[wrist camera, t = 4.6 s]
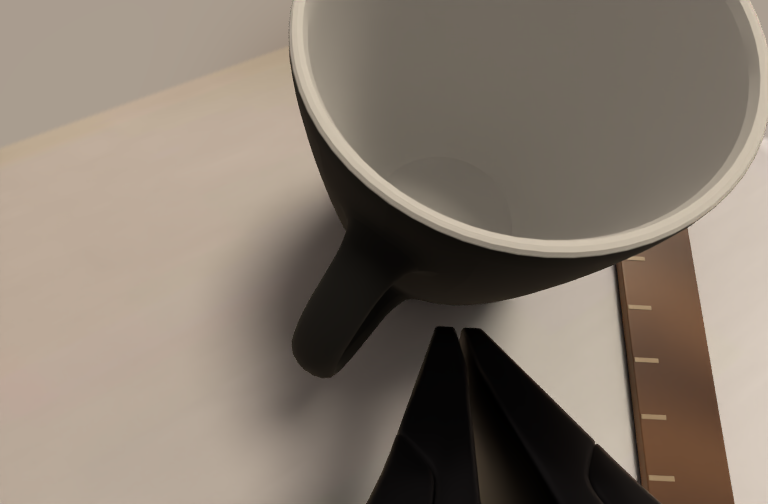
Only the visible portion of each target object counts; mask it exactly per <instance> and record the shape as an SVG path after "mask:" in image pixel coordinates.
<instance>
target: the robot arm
mask: <svg viewBox="0 0 768 504" xmlns="http://www.w3.org/2000/svg"><path fill="white" fill-rule="evenodd" d="M366 504H662V503H660V502H659V501H658V500H657V499H656V498H655V497H654V496H653V495H651V494H650V493H649V492H648V491H647V490H646V489H645V488H643V487H642V486H641V485H640V484H639V483H638V482H637V481H636V480H635V479H634V478H633V477H632V476H631V475H630V474H628V473H627V472H626V471H625V470H624V469H623V468H622V467H621V466H620V465H619V464H618V463H617V462H616V461H615V460H614V459H613V458H612V457H611V456H610V455H609V454H608V453H607V452H606V451H605V450H604V449H603V448H602V447H601V446H600V445H598V444H595V441H594V440H593V439H592V438H591V437H590V436H589V435H588V434H587V433H586V432H585V431H584V430H583V429H582V428H581V427H580V426H579V425H578V424H577V423H576V422H575V421H574V420H573V419H572V418H571V417H570V416H569V415H568V414H567V413H566V412H565V411H564V410H563V409H562V408H561V407H560V406H559V405H558V404H557V403H556V402H555V401H554V400H553V399H552V398H551V397H550V396H549V395H548V394H547V393H546V392H545V391H544V390H543V389H542V388H541V387H540V386H539V385H538V384H537V383H536V382H535V381H534V380H533V379H532V378H531V377H530V376H529V375H527V374H526V373H525V372H524V371H523V370H522V369H521V368H520V367H519V366H518V365H517V364H516V363H515V362H514V361H513V360H512V359H511V358H510V357H509V356H508V355H507V354H506V353H505V352H504V351H503V350H502V349H501V348H500V347H499V346H498V345H497V344H496V343H495V342H494V341H493V340H492V339H491V338H490V337H489V336H488V335H487V334H486V333H485V332H484V331H483V330H482V329H479V328H463V329H462V331H461V334H460V339H459V340H458V337H457V334H456V331H455V329H454V328H453V327H445V326H437V327H436V328H435V330H434V333H433V336H432V338H431V341H430V344H429V347H428V350H427V352H426V355H425V358H424V361H423V363H422V366H421V369H420V372H419V374H418V377H417V380H416V383H415V385H414V388H413V391H412V394H411V397H410V399H409V402H408V405H407V408H406V410H405V413H404V416H403V419H402V421H401V424H400V427H399V430H398V433H397V435H396V437H395V440H394V443H393V446H392V448H391V451H390V454H389V456H388V458H387V461H386V463H385V466H384V468H383V471H382V473H381V475H380V477H379V479H378V481H377V483H376V485H375V487H374V489H373V491H372V493H371V495H370V497H369V499H368V501H367V503H366Z"/></svg>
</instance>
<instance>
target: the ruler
mask: <svg viewBox="0 0 768 504" xmlns="http://www.w3.org/2000/svg"><path fill="white" fill-rule="evenodd" d="M616 266H617V275H618V283H619V292H620V301H621V310H622V318H623V327H624V336H625V344H626V353H627V362H628V371H629V379H630V388H631V397H632V405H633V414H634V423H635V431H636V440H637V449H638V458H639V466H640V475H641V484H642V487H643V488H645V489H646V490H647V491H648V492H649V493H650V494H651V495H653V496H654V497H655V498H656V499H657V500H658V501H659V502H660V503H662V504H734V498H733V492H732V486H731V481H730V475H729V469H728V463H727V457H726V451H725V445H724V440H723V434H722V428H721V422H720V416H719V410H718V404H717V399H716V393H715V387H714V381H713V375H712V369H711V363H710V358H709V352H708V346H707V340H706V334H705V328H704V322H703V317H702V311H701V305H700V299H699V293H698V287H697V281H696V276H695V270H694V264H693V258H692V252H691V246H690V240H689V235H688V229H687V228H686V229H685V230H683V231H681V232H679V233H678V234H676V235H674V236H672V237H671V238H669V239H667V240H665V241H663V242H661V243H660V244H658V245H656V246H654V247H652V248H650V249H648V250H646V251H644V252H642V253H639V254H637V255H635V256H633V257H630V258H628V259H626V260H623V261H621V262H619V263H616Z"/></svg>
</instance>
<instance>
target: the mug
mask: <svg viewBox="0 0 768 504" xmlns="http://www.w3.org/2000/svg"><path fill="white" fill-rule="evenodd" d="M289 55H290V64H291V70H292V76H293V82H294V87H295V92H296V97H297V101H298V105H299V109H300V113H301V116H302V120H303V123H304V127H305V130H306V133H307V137H308V140H309V143H310V146H311V149H312V152H313V155H314V158H315V161H316V164H317V167H318V169H319V172H320V175H321V177H322V180H323V182H324V185H325V187H326V190H327V192H328V194H329V197H330V199H331V202H332V204H333V206H334V208H335V211H336V213H337V215H338V217H339V219H340V221H341V223H342V225H343V227H344V228H345V230H346V234H345V236H344V239H343V242H342V244H341V246H340V248H339V250H338V252H337V254H336V256H335V257H334V259H333V261H332V263H331V264H330V266H329V268H328V269H327V271H326V273H325V274H324V276H323V278H322V279H321V281H320V283H319V284H318V286H317V288H316V289H315V291H314V293H313V294H312V296H311V298H310V300H309V301H308V303H307V305H306V307H305V309H304V311H303V313H302V315H301V317H300V319H299V321H298V323H297V326H296V329H295V331H294V334H293V338H292V351H293V355H294V357H295V358H296V360H297V362H298V364H299V365H300V366H301V367H302V368H303V369H304V370H305V371H307V372H309V373H310V374H312V375H314V376H317V377H320V378H331V377H332V376H334V375H335V374H336V373H337V372H339V371H340V370H341V369H342V368H343V367H344V366H345V365H346V363H347V362H348V361H349V360H350V359H351V358H352V357H353V356H354V354H355V353H356V352H357V351H358V350H359V348H360V347H361V346H362V345H363V343H364V342H365V341H366V340H367V339H368V337H369V336H370V335H371V334H372V332H373V331H374V330H375V328H376V327H377V326H378V325H379V323H380V322H381V321H382V320H383V319H384V317H385V316H386V315H387V314H388V313H389V312H390V311H391V310H392V309H393V308H395V307H396V306H397V305H399V304H400V303H401V302H403V301H405V300H408V299H420V300H423V301H427V302H432V303H437V304H446V305H474V304H485V303H492V302H497V301H502V300H507V299H512V298H516V297H520V296H524V295H528V294H531V293H535V292H538V291H541V290H545V289H548V288H551V287H554V286H557V285H561V284H564V283H567V282H570V281H573V280H575V279H578V278H581V277H584V276H586V275H589V274H592V273H594V272H597V271H599V270H602V269H604V268H607V267H609V266H612V265H614V264H616V263H619V262H621V261H623V260H626V259H628V258H630V257H633V256H635V255H637V254H639V253H642V252H644V251H646V250H648V249H650V248H652V247H654V246H656V245H658V244H660V243H661V242H663V241H665V240H667V239H669V238H671V237H672V236H674V235H676V234H678V233H679V232H681V231H683V230H685V229H686V228H688V227H689V226H691V225H692V224H693V223H695V222H696V221H698V220H699V219H700V218H702V217H703V216H704V215H706V214H707V213H708V212H710V211H711V210H712V209H713V208H715V207H716V206H717V205H718V204H719V203H720V202H721V201H722V200H723V199H724V198H725V197H726V196H727V195H728V194H729V193H730V192H731V191H732V190H733V188H734V187H735V186H736V185H737V184H738V182H739V181H740V180H741V179H742V177H743V176H744V174H745V173H746V171H747V170H748V168H749V166H750V165H751V163H752V161H753V160H754V158H755V156H756V153H757V151H758V149H759V147H760V144H761V142H762V140H763V136H764V133H765V129H766V126H767V123H768V48H767V43H766V39H765V36H764V33H763V30H762V27H761V24H760V21H759V19H758V17H757V15H756V12H755V10H754V8H753V6H752V4H751V2H750V0H293V1H292V7H291V11H290V22H289Z"/></svg>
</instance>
